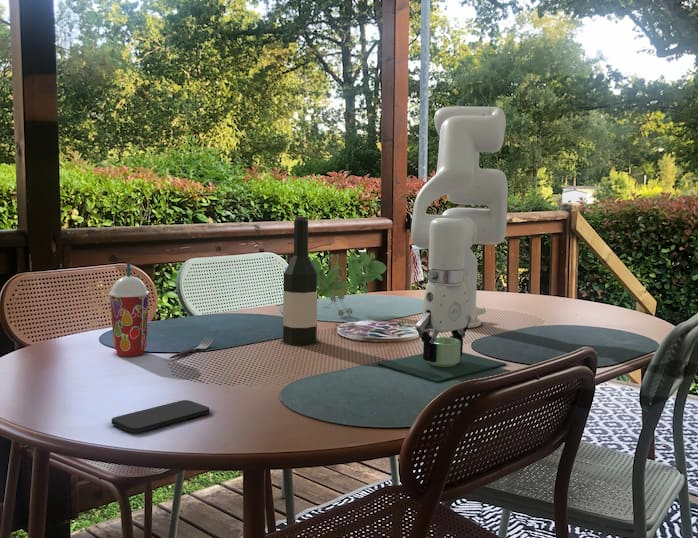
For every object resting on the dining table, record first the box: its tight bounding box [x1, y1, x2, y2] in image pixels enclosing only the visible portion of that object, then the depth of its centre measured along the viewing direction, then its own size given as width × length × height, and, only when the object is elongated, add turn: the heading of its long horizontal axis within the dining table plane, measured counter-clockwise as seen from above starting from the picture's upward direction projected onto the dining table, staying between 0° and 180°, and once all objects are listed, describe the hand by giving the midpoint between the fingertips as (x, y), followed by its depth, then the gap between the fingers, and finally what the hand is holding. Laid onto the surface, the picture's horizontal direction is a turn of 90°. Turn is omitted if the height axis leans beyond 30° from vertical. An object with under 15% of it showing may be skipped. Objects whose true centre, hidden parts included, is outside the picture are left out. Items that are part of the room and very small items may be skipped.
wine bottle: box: [282, 215, 318, 346], centre depth 179 cm, size 8×8×30 cm
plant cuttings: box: [276, 251, 387, 319], centre depth 213 cm, size 35×17×22 cm
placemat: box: [377, 351, 507, 383], centre depth 162 cm, size 22×17×1 cm
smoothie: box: [108, 263, 150, 357], centre depth 165 cm, size 8×8×20 cm
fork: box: [169, 336, 215, 359], centre depth 168 cm, size 3×16×2 cm, turn 159°
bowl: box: [428, 336, 461, 367], centre depth 161 cm, size 7×7×5 cm
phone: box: [111, 399, 210, 433], centre depth 123 cm, size 7×1×15 cm
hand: (442, 357), depth 161 cm, fingers open, 7 cm apart
